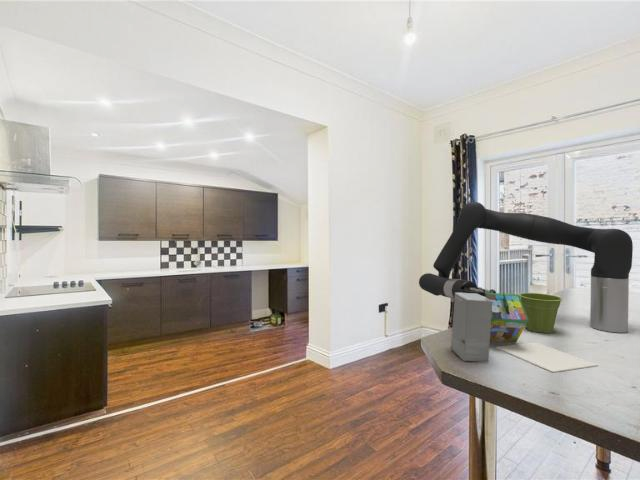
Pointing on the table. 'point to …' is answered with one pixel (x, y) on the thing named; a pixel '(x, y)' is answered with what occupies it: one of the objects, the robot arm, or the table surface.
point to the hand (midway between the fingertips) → (499, 298)
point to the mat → (546, 357)
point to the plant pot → (540, 311)
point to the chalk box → (506, 317)
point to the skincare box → (471, 326)
